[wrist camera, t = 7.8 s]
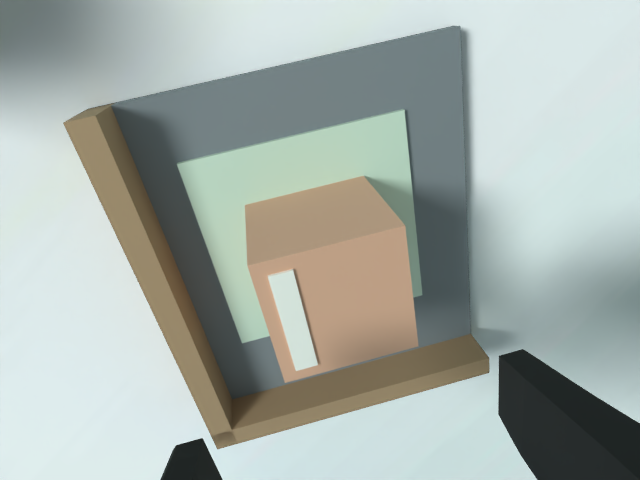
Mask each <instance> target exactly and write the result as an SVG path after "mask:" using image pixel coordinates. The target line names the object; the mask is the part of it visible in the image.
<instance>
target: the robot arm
mask: <svg viewBox="0 0 640 480" xmlns="http://www.w3.org/2000/svg"><path fill="white" fill-rule="evenodd" d="M499 416H500V418H501V420H502V422H503V424H504V425H505V427H506V429H507V431H508V433H509V435H510V437H511V438H512V440H513V442H514V444H515V446H516V447H517V449H518V451H519V453H520V454H521V456H522V458H523V459H524V461H525V462H526V464H527V465H528V467H529V468H530V469H531V471H532V472H533V474H534V475H535V477H536V478H537V480H640V423H638V422H636V421H635V420H633V419H631V418H630V417H628V416H626V415H625V414H623V413H622V412H620V411H618V410H617V409H615V408H613V407H612V406H610V405H609V404H607V403H605V402H604V401H602V400H600V399H599V398H597V397H596V396H594V395H592V394H591V393H589V392H588V391H586V390H585V389H583V388H582V387H580V386H578V385H577V384H575V383H574V382H572V381H571V380H569V379H568V378H566V377H565V376H563V375H562V374H560V373H559V372H557V371H556V370H554V369H552V368H551V367H549V366H548V365H546V364H545V363H543V362H542V361H540V360H539V359H537V358H536V357H534V356H533V355H531V354H530V353H528V352H526V351H525V350H523V349H522V350H519V351H515V352H511V353H508V354H504V355H501V356H499ZM161 480H222V478H221V476H220V474H219V471H218V469H217V467H216V465H215V463H214V461H213V459H212V457H211V455H210V453H209V451H208V449H207V447H206V444H205V442H204V440H203V438H201V439H198V440H194V441H190V442H187V443H183V444H180V445H176V447H175V448H174V449H173V451H172V454H171V456H170V459H169V461H168V463H167V466H166V468H165V470H164V473H163V475H162V478H161Z"/></svg>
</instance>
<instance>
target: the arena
mask: <svg viewBox="0 0 640 480" xmlns="http://www.w3.org/2000/svg"><path fill="white" fill-rule="evenodd" d="M401 109H404V110H405V120H406V131H407V141H408V151H409V162H410V172H411V182H412V192H413V203H414V213H415V223H416V233H417V244H418V254H419V264H420V274H421V285H422V295H421V296H418V297H414V298H413V300H414V310H415V319H416V328H417V337H418V347H414V348H411V349H407V350H403V351H400V352H396V353H392V354H389V355H385V356H382V357H378V358H374V359H371V360H367V361H363V362H360V363H356V364H352V365H349V366H345V367H341V368H338V369H334V370H331V371H327V372H323V373H320V374H316V375H312V376H309V377H305V378H301V379H298V380H294V381H290V382H287V383H285V382H284V378H283V375H282V372H281V369H280V366H279V363H278V360H277V357H276V354H275V350H274V347H273V344H272V341H271V338H270V336H268V337H264V338H260V339H257V340H253V341H249V342H245V343H242V342H241V339H240V336H239V333H238V331H237V328H236V325H235V322H234V320H233V317H232V314H231V312H230V309H229V306H228V303H227V301H226V298H225V295H224V292H223V290H222V287H221V284H220V281H219V279H218V276H217V273H216V270H215V268H214V265H213V262H212V259H211V257H210V254H209V251H208V248H207V246H206V243H205V240H204V238H203V235H202V232H201V229H200V227H199V224H198V221H197V218H196V216H195V213H194V210H193V207H192V205H191V202H190V199H189V196H188V194H187V191H186V188H185V185H184V183H183V180H182V177H181V174H180V172H179V169H178V166H177V163H178V162H183V161H187V160H191V159H195V158H199V157H204V156H208V155H212V154H216V153H220V152H225V151H229V150H233V149H237V148H241V147H246V146H250V145H254V144H258V143H262V142H267V141H271V140H275V139H279V138H283V137H288V136H292V135H296V134H300V133H304V132H309V131H313V130H317V129H321V128H325V127H330V126H334V125H338V124H342V123H346V122H351V121H355V120H359V119H363V118H367V117H372V116H376V115H380V114H384V113H388V112H393V111H397V110H401ZM63 124H64V126H65V128H66V130H67V132H68V134H69V136H70V138H71V140H72V143H73V145H74V147H75V149H76V151H77V153H78V155H79V157H80V159H81V162H82V164H83V166H84V168H85V170H86V172H87V174H88V176H89V179H90V181H91V183H92V185H93V187H94V189H95V191H96V193H97V195H98V198H99V200H100V202H101V204H102V206H103V208H104V210H105V212H106V215H107V217H108V219H109V221H110V223H111V225H112V227H113V229H114V231H115V234H116V236H117V238H118V240H119V242H120V244H121V246H122V248H123V250H124V253H125V255H126V257H127V259H128V261H129V263H130V265H131V267H132V270H133V272H134V274H135V276H136V278H137V280H138V282H139V284H140V286H141V289H142V291H143V293H144V295H145V297H146V299H147V301H148V303H149V305H150V308H151V310H152V312H153V314H154V316H155V318H156V320H157V322H158V325H159V327H160V329H161V331H162V333H163V335H164V337H165V339H166V341H167V344H168V346H169V348H170V350H171V352H172V354H173V356H174V358H175V360H176V363H177V365H178V367H179V369H180V371H181V373H182V375H183V377H184V380H185V382H186V384H187V386H188V388H189V390H190V392H191V394H192V396H193V399H194V401H195V403H196V405H197V407H198V409H199V411H200V413H201V415H202V418H203V420H204V422H205V424H206V426H207V428H208V430H209V432H210V435H211V437H212V439H213V441H214V443H215V445H216V447H217V449H220V448H224V447H227V446H231V445H234V444H238V443H242V442H245V441H249V440H252V439H256V438H259V437H263V436H266V435H270V434H273V433H277V432H281V431H284V430H288V429H291V428H295V427H298V426H302V425H305V424H309V423H312V422H316V421H320V420H323V419H327V418H330V417H334V416H337V415H341V414H344V413H348V412H352V411H355V410H359V409H362V408H366V407H369V406H373V405H376V404H380V403H383V402H387V401H391V400H394V399H398V398H401V397H405V396H408V395H412V394H415V393H419V392H423V391H426V390H430V389H433V388H437V387H440V386H444V385H447V384H451V383H454V382H458V381H462V380H465V379H469V378H472V377H476V376H479V375H483V374H486V373H489V357H488V356H487V355H486V353H485V352H484V351H483V349H482V348H481V347H480V345H479V344H478V343H477V341H476V340H475V339H474V337H473V336H472V335H471V324H470V294H469V265H468V236H467V206H466V177H465V147H464V118H463V89H462V59H461V30H460V26H451V27H447V28H442V29H438V30H433V31H429V32H425V33H420V34H416V35H411V36H407V37H403V38H398V39H394V40H389V41H385V42H381V43H376V44H372V45H367V46H363V47H359V48H354V49H350V50H345V51H341V52H337V53H332V54H328V55H323V56H319V57H315V58H310V59H306V60H301V61H297V62H293V63H288V64H284V65H279V66H275V67H270V68H266V69H262V70H257V71H253V72H248V73H244V74H240V75H235V76H231V77H226V78H222V79H218V80H213V81H209V82H204V83H200V84H196V85H191V86H187V87H182V88H178V89H174V90H169V91H165V92H160V93H156V94H152V95H147V96H143V97H138V98H134V99H130V100H125V101H121V102H116V103H112V104H108V105H103V106H99V107H94V108H90V109H87V110H85V111H83V112H82V113H80V114H78V115H76V116H74V117H73V118H71V119H69V120H67V121H66V122H64V123H63Z"/></svg>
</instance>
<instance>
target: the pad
mask: <svg viewBox="0 0 640 480" xmlns="http://www.w3.org/2000/svg"><path fill="white" fill-rule="evenodd" d="M177 166H178V169H179V172H180V174H181V177H182V180H183V183H184V185H185V188H186V191H187V194H188V196H189V199H190V202H191V205H192V207H193V210H194V213H195V216H196V218H197V221H198V224H199V227H200V229H201V232H202V235H203V238H204V240H205V243H206V246H207V248H208V251H209V254H210V257H211V259H212V262H213V265H214V268H215V270H216V273H217V276H218V279H219V281H220V284H221V287H222V290H223V292H224V295H225V298H226V301H227V303H228V306H229V309H230V312H231V314H232V317H233V320H234V322H235V325H236V328H237V331H238V333H239V336H240V339H241V342H242V343H245V342H249V341H253V340H257V339H260V338H264V337H268V336H270V335H269V332H268V329H267V325H266V322H265V319H264V316H263V313H262V310H261V307H260V304H259V301H258V297H257V294H256V291H255V288H254V285H253V282H252V279H251V276H250V273H249V269H248V266H247V245H246V222H245V205H247V204H251V203H255V202H259V201H263V200H267V199H271V198H275V197H279V196H283V195H287V194H291V193H295V192H299V191H303V190H307V189H311V188H316V187H320V186H324V185H328V184H332V183H336V182H340V181H344V180H348V179H352V178H356V177H360V176H364V177H365V178H366V179H367V180H368V182H369V183H370V184H371V185H372V186H373V188H374V189H375V190H376V191H377V192H378V194H379V195H380V196H381V197H382V198H383V200H384V201H385V202H386V203H387V204H388V206H389V207H390V208H391V209H392V210H393V212H394V213H395V214H396V215H397V216H398V217H399V219H400V220H401V221H402V222H403V223H404V225H405V228H406V237H407V246H408V255H409V264H410V273H411V282H412V291H413V298H414V297H418V296H421V295H422V285H421V274H420V264H419V254H418V244H417V233H416V223H415V213H414V203H413V192H412V182H411V172H410V162H409V151H408V141H407V131H406V120H405V110H404V109H401V110H397V111H393V112H388V113H384V114H380V115H376V116H372V117H367V118H363V119H359V120H355V121H351V122H346V123H342V124H338V125H334V126H330V127H325V128H321V129H317V130H313V131H309V132H304V133H300V134H296V135H292V136H288V137H283V138H279V139H275V140H271V141H267V142H262V143H258V144H254V145H250V146H246V147H241V148H237V149H233V150H229V151H225V152H220V153H216V154H212V155H208V156H204V157H199V158H195V159H191V160H187V161H183V162H178V163H177Z"/></svg>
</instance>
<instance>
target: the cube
mask: <svg viewBox="0 0 640 480" xmlns="http://www.w3.org/2000/svg"><path fill="white" fill-rule="evenodd" d="M245 222H246V245H247V266H248V269H249V273H250V276H251V279H252V282H253V285H254V288H255V291H256V294H257V297H258V301H259V304H260V307H261V310H262V313H263V316H264V319H265V322H266V325H267V329H268V332H269V335H270V338H271V341H272V344H273V347H274V350H275V354H276V357H277V360H278V363H279V366H280V369H281V372H282V375H283V378H284V382H285V383H287V382H290V381H294V380H298V379H301V378H305V377H309V376H312V375H316V374H320V373H323V372H327V371H331V370H334V369H338V368H341V367H345V366H349V365H352V364H356V363H360V362H363V361H367V360H371V359H374V358H378V357H382V356H385V355H389V354H392V353H396V352H400V351H403V350H407V349H411V348H414V347H418V337H417V328H416V319H415V310H414V300H413V291H412V282H411V273H410V264H409V255H408V246H407V237H406V228H405V225H404V223H403V222H402V221H401V220H400V219H399V217H398V216H397V215H396V214H395V213H394V212H393V210H392V209H391V208H390V207H389V206H388V204H387V203H386V202H385V201H384V200H383V198H382V197H381V196H380V195H379V194H378V192H377V191H376V190H375V189H374V188H373V186H372V185H371V184H370V183H369V182H368V180H367V179H366V178H365V177H364V176H360V177H356V178H352V179H348V180H344V181H340V182H336V183H332V184H328V185H324V186H320V187H316V188H311V189H307V190H303V191H299V192H295V193H291V194H287V195H283V196H279V197H275V198H271V199H267V200H263V201H259V202H255V203H251V204H247V205H245Z"/></svg>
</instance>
